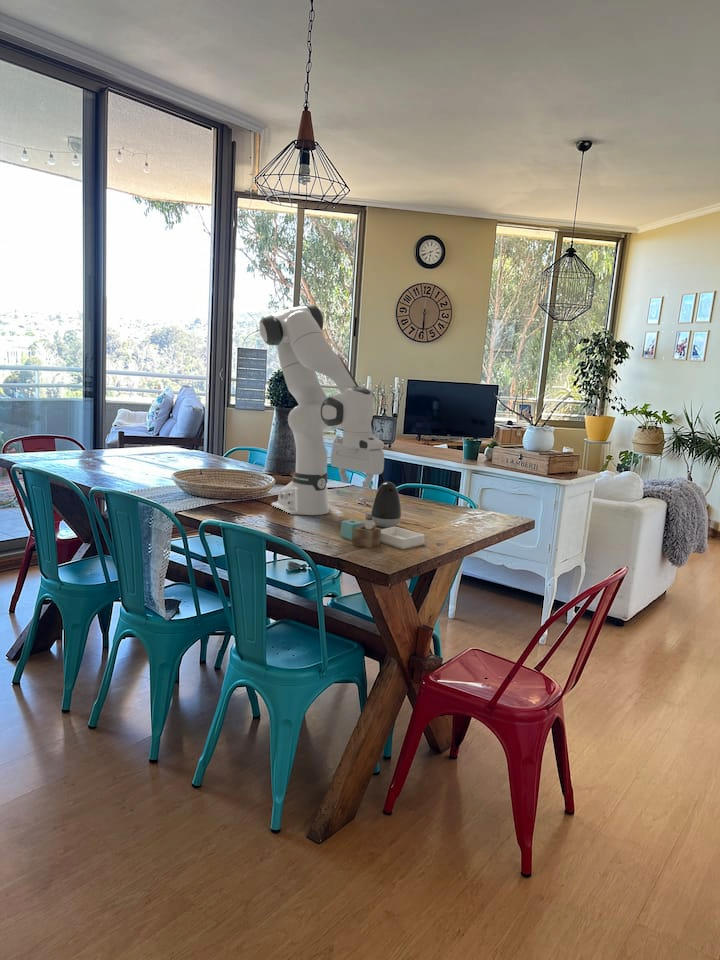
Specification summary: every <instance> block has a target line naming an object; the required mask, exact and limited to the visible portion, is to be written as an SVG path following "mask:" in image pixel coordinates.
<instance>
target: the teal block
mask: <svg viewBox="0 0 720 960" xmlns="http://www.w3.org/2000/svg"><path fill="white" fill-rule="evenodd" d="M340 524H341V525H340V537H341V538H344V539H348V540H350V541H353V531H354V528H356V527H359V526H363V525H365V522H364V521H360V520H356V519H347V520H342V521H341V523H340Z"/></svg>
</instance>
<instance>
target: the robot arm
mask: <svg viewBox="0 0 720 960" xmlns="http://www.w3.org/2000/svg"><path fill="white" fill-rule="evenodd" d="M323 328H324V317H323V314H322V311H321V310H320V308H319V307H318V306H317V305H314V304H304V305H299V306H293V307H288V308H286V309H282V310H279V311H277V312H273V313H268V314H266V315H264V316H262V317H261V318H260V320H259V333H260V336H261V338H262V340H263V341H264V343H265V344H266V345H268V346H276V347H277V348H276V349H277V354H278V360H279V365H280V367H281V370H282V374H283V377H284V381H285V384H286V387H287V391H288V392H289V393H290V394H291V395H292V397H293V398H294V399H295V401H296V402H297V404H298V405H296V406H294V407H293V408H292V409H291V410H290V412H289V413H288V416H287V423H288V426H289V428H290V430H291V431H292V434H293V438H294V445H295V471H293V472H291V474H290V477H291V476H292V478H291V481H290V482H289V483H288V484H286V485H285V486H283V487H282V488H281V489H280V490H279V491H278V497H277V501H273V502H272V503H271V504H270V506H271V505H272V506H271V507H273V506H274V508H275V507H276V508H275V509H277V508H279V509H281V510H283V511H282V512H284V511H285V512H284V513H286V512H287V513H286V514H288V513H290V514H289V515H301V516H302V515H303V516H322V515H325V514H328V513H330V505H329V495H328V493H329V491H328V487H327V484H328V479H329V477H328V474H329V473H328V471H327V469H328V450H327V448H326V446H325V441H324V437H323V436H324V435H323V433H326V432H328V431H330V430H331V429H332V428H343V430H342V431H343V432H342V437H336V438H335V439H334V440H333V443H332V448H331V453H330V460H329V461H330V465H331V466H332V467H334V468H338V473H339V475H340V479H341V480H340V481H341V483H343V484H346V483H349V476H348V475H347V470H348V471H352V472H353V471H355V472H359V473H363V474H365V475H364V476H365V480H364V481H362V487H363V488H366V489H367V488H371V487H370V486H371V481H373V478H374V476H376V475H381V474H383V472H384V469H385V454H384V451H383V449H384V447H385V442H384V441H383V440H381V439H379V438H377V436H375V435H373V428H372V420H373V418H374V417H373V416H374V398H373V394H372V391H370V390H369V389H367V388H366V387H363V386H362V387H361V386H359V385H358V383H357V381H356V380H355V379H354V376H353V375H352V373H351V371H350V370H349V368H348V366H347V365H346V363H345V362H344V361H343V359H342V358H341V357H340V356H339V355H338V354H337V353H336V352H335V350H333V348H332V347H331V345H330V344H329V342H328V341H327V339H326V337H325V335H324V333H323V331H322V330H323ZM317 373H319V374H321V375H323V376H326V377H328V378H329V379H330V380H331V381H333V382H334V384H335V386H336V387H337V389H338V390H339V392H340V393H339V394H335V395H332V396H329V397H327V395H326V393H325V391H324V389H323V388H322V386H321V383H320V380H319V378H318V374H317ZM279 509H278V510H279ZM281 510H280V511H281Z"/></svg>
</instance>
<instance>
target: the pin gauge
mask: <svg viewBox="0 0 720 960" xmlns="http://www.w3.org/2000/svg"><path fill="white" fill-rule="evenodd" d="M373 517H374V516H373V515H371V514H365V522H364V525H365V530H372V528H373V527H374V521H373Z"/></svg>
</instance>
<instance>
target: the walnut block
mask: <svg viewBox="0 0 720 960" xmlns="http://www.w3.org/2000/svg"><path fill="white" fill-rule="evenodd" d="M381 529H382V527H378V526H377V527H375V526H373V528H372V530H365V524H364V525H363V526H359V527H356V528H354V531H353V540H352V545H354V546H359V547H362V548H367V549H371V548H374V547H377V546H380V545H381V543H380V538H381Z"/></svg>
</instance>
